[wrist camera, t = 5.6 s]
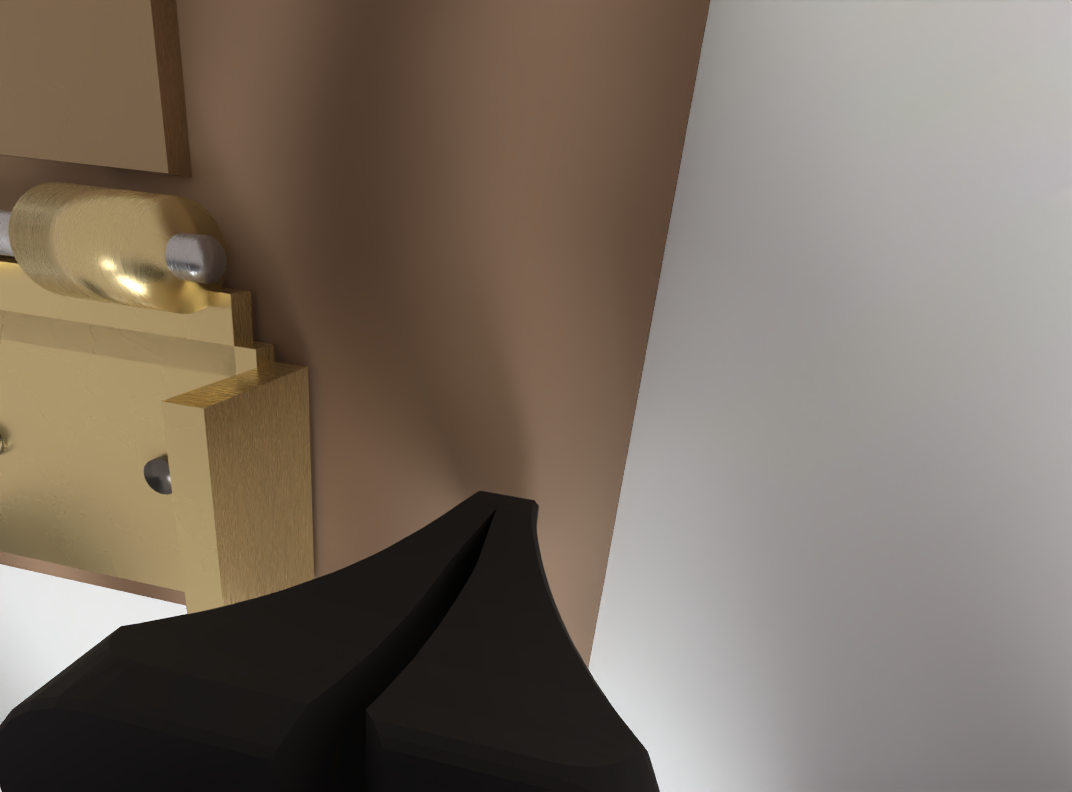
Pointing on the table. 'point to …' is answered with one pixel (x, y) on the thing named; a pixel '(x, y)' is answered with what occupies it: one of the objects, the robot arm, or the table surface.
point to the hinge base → (94, 84)
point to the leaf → (145, 402)
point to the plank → (439, 247)
